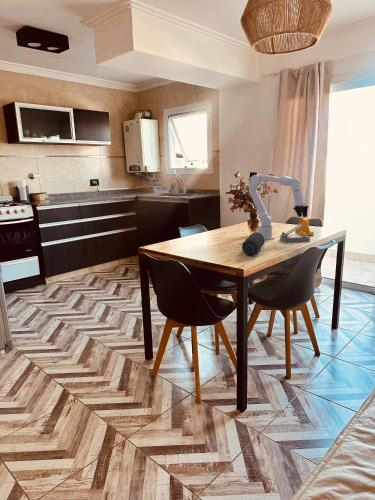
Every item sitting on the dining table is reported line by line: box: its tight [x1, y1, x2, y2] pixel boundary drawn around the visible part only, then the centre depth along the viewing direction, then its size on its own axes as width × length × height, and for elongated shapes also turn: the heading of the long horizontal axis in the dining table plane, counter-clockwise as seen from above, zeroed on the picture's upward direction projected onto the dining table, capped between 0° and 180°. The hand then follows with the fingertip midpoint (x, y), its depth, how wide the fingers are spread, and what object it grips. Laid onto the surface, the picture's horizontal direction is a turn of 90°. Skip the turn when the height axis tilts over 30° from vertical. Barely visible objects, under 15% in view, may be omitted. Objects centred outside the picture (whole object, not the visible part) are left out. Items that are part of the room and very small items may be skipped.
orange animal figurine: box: [294, 217, 315, 237], centre depth 242 cm, size 11×7×12 cm, turn 39°
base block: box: [279, 231, 311, 244], centre depth 227 cm, size 16×10×5 cm, turn 97°
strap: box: [283, 224, 303, 237], centre depth 225 cm, size 14×3×1 cm
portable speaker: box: [241, 232, 265, 257], centre depth 202 cm, size 25×10×10 cm, turn 159°
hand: (302, 216), depth 225 cm, fingers open, 7 cm apart
